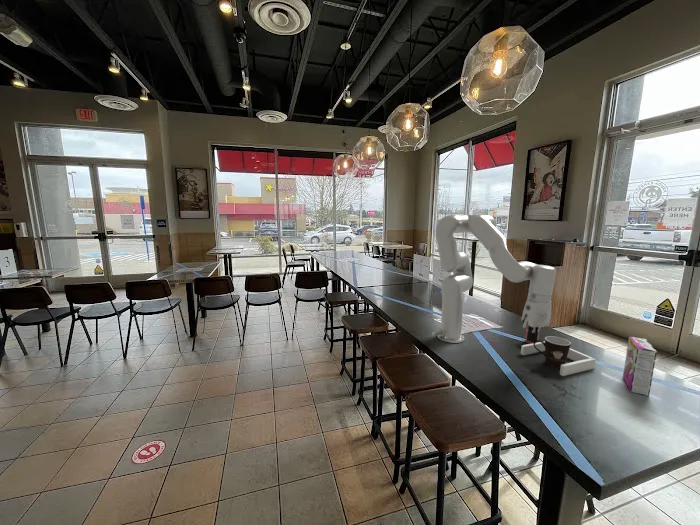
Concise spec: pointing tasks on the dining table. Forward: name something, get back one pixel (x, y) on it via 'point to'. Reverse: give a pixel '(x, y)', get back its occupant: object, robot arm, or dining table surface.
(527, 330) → the squeeze bottle
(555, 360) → the coffee mug
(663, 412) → the dining table surface
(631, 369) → the candy bar box
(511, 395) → the dining table surface
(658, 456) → the dining table surface
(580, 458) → the dining table surface
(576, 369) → the open u-shaped frame
